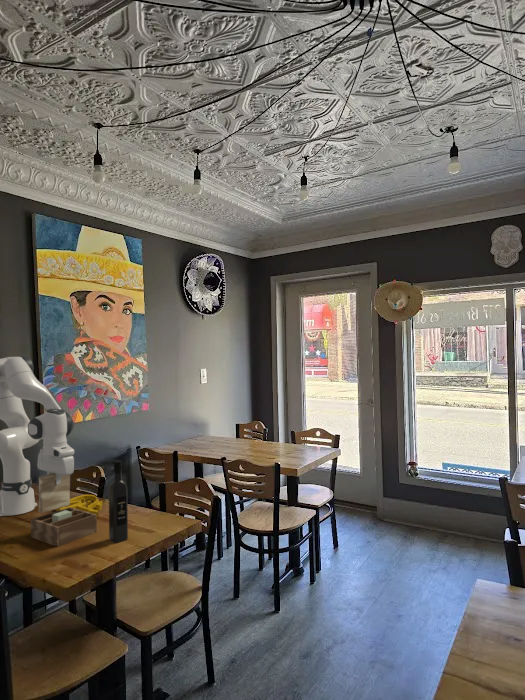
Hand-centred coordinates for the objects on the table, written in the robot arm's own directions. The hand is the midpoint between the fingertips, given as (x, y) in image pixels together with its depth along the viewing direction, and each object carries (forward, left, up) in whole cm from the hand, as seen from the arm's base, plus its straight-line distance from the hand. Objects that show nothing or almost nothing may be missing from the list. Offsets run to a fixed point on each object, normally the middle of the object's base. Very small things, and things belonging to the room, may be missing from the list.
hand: (54, 483), depth 185 cm
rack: (+6, 0, -20) cm, 20 cm away
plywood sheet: (0, 0, -10) cm, 10 cm away
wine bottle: (+29, +8, -20) cm, 36 cm away
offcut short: (+6, -1, -14) cm, 15 cm away
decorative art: (-13, +23, -20) cm, 33 cm away
